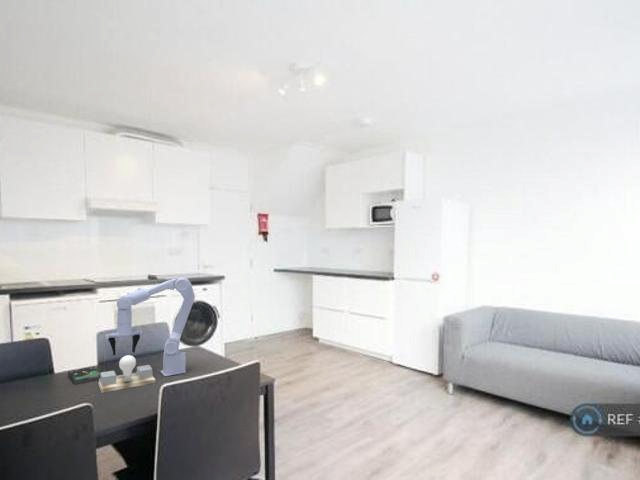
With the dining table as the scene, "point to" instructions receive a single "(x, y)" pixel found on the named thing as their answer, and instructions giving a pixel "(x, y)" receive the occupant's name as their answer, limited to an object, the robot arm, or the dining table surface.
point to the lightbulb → (127, 366)
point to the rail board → (114, 382)
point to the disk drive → (84, 375)
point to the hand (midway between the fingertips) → (123, 353)
